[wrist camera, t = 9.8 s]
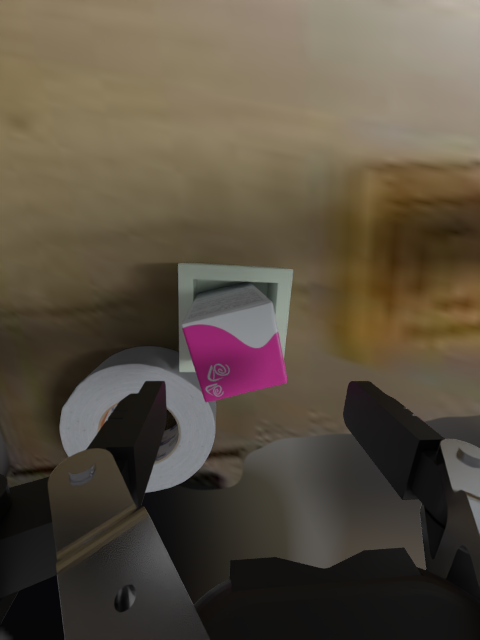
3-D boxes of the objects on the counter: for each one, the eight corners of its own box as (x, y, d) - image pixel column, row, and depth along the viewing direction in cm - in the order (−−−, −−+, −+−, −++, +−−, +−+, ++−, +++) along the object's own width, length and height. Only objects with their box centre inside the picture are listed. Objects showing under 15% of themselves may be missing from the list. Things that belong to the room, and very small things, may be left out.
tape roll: (56, 399, 27) (21, 430, 22) (156, 318, 26) (143, 332, 21) (149, 475, 31) (137, 516, 26) (240, 409, 30) (245, 438, 25)
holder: (278, 267, 26) (293, 269, 21) (270, 352, 28) (282, 372, 23) (185, 262, 25) (178, 263, 20) (185, 351, 27) (179, 372, 22)
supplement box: (195, 293, 24) (178, 321, 13) (250, 280, 25) (278, 297, 14) (208, 343, 26) (204, 406, 15) (260, 331, 26) (293, 383, 15)
